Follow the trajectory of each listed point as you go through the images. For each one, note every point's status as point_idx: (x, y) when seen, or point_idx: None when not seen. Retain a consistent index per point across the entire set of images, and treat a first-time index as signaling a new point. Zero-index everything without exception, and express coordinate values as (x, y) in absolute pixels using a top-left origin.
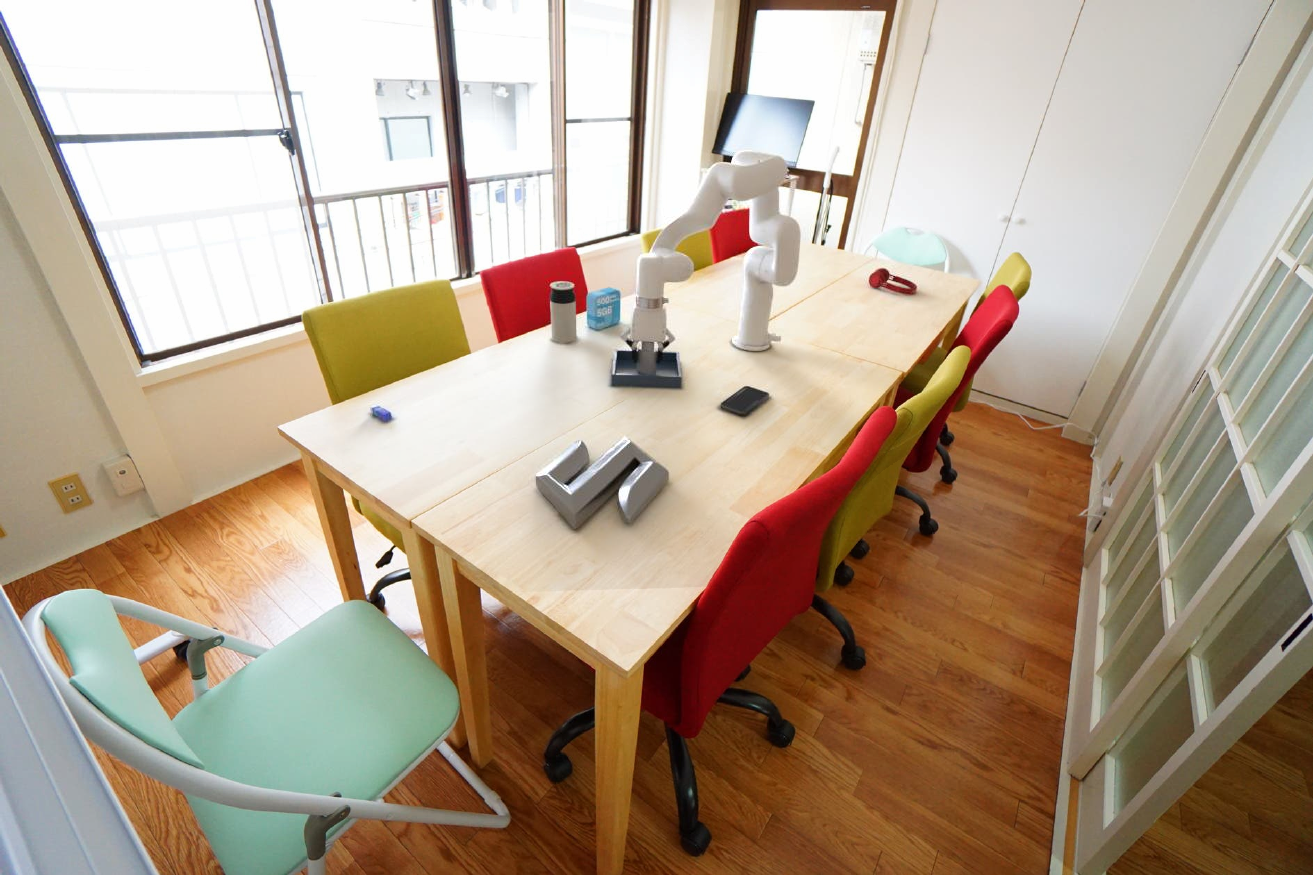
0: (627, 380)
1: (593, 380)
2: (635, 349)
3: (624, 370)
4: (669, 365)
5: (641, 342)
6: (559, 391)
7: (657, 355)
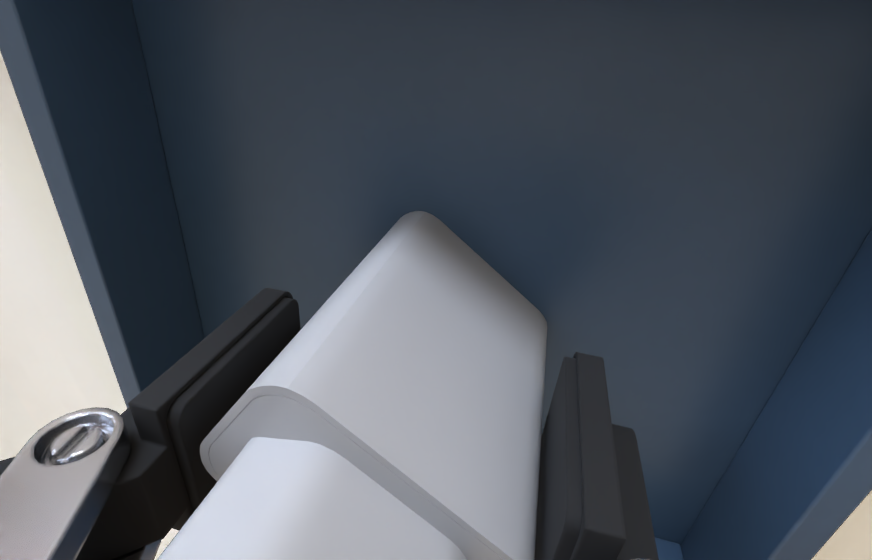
0: None
1: (97, 334)
2: (173, 507)
3: (252, 248)
4: (794, 158)
5: (172, 553)
6: (3, 414)
7: (540, 513)
